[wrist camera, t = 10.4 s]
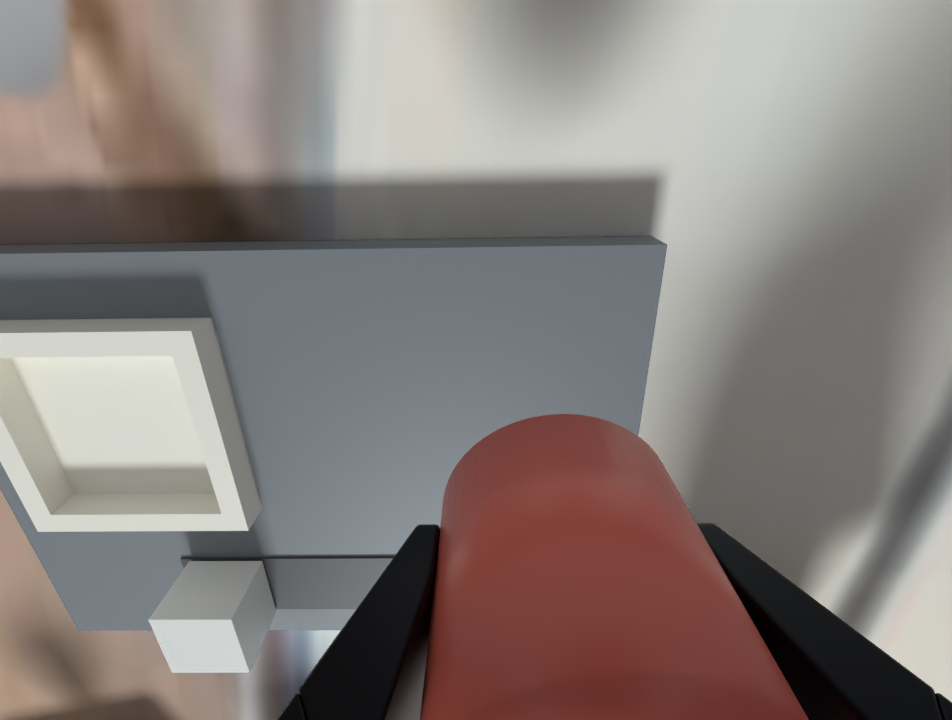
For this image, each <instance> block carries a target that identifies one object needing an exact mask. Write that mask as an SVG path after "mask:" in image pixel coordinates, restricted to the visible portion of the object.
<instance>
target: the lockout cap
mask: <svg viewBox="0 0 952 720" xmlns="http://www.w3.org/2000/svg"><path fill="white" fill-rule="evenodd" d="M420 720H809V719H808V717H807V716H806V714H805V712H804V710H803V709H802V707H801V705H800V703H799V702H798V700H797V698H796V696H795V695H794V693H793V691H792V689H791V688H790V686H789V684H788V682H787V681H786V679H785V677H784V675H783V674H782V672H781V670H780V668H779V667H778V665H777V663H776V661H775V660H774V658H773V656H772V654H771V653H770V651H769V649H768V647H767V646H766V644H765V642H764V640H763V639H762V637H761V635H760V633H759V632H758V630H757V628H756V626H755V625H754V623H753V621H752V619H751V618H750V616H749V614H748V612H747V611H746V609H745V607H744V605H743V604H742V602H741V600H740V598H739V597H738V595H737V593H736V591H735V590H734V588H733V586H732V584H731V583H730V581H729V579H728V577H727V576H726V574H725V572H724V570H723V569H722V567H721V565H720V563H719V562H718V560H717V558H716V556H715V555H714V553H713V551H712V549H711V548H710V546H709V544H708V542H707V541H706V539H705V537H704V535H703V534H702V532H701V530H700V528H699V527H698V525H697V523H696V521H695V520H694V518H693V516H692V514H691V513H690V511H689V509H688V507H687V506H686V504H685V502H684V500H683V499H682V497H681V495H680V493H679V492H678V490H677V488H676V486H675V485H674V483H673V481H672V479H671V478H670V476H669V474H668V472H667V471H666V469H665V467H664V465H663V464H662V462H661V461H660V459H659V458H658V456H657V454H656V453H655V452H654V451H653V450H652V449H651V448H650V446H649V445H648V444H647V443H646V442H644V441H643V440H642V439H641V438H639V437H638V436H637V435H636V434H634V433H632V432H631V431H629V430H627V429H626V428H624V427H622V426H619V425H617V424H615V423H612V422H610V421H606V420H603V419H600V418H596V417H591V416H585V415H578V414H552V415H543V416H537V417H531V418H527V419H524V420H521V421H517V422H514V423H512V424H509V425H507V426H505V427H502V428H500V429H498V430H496V431H495V432H493V433H491V434H489V435H488V436H486V437H485V438H483V439H482V440H481V441H479V442H478V443H477V444H475V445H474V446H473V447H472V448H471V449H470V450H469V451H468V452H467V453H466V454H465V455H464V456H463V457H462V459H461V460H460V461H459V462H458V464H457V465H456V466H455V468H454V470H453V472H452V474H451V475H450V477H449V480H448V482H447V485H446V488H445V492H444V497H443V504H442V514H441V523H440V535H439V544H438V554H437V563H436V573H435V583H434V592H433V600H432V609H431V618H430V628H429V637H428V647H427V656H426V666H425V675H424V685H423V695H422V704H421V714H420Z"/></svg>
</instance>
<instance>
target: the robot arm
mask: <svg viewBox="0 0 952 720" xmlns="http://www.w3.org/2000/svg"><path fill="white" fill-rule="evenodd" d="M697 525H698V527H699V528H700V530H701V532H702V534H703V535H704V537H705V539H706V541H707V542H708V544H709V546H710V548H711V549H712V551H713V553H714V555H715V556H716V558H717V560H718V562H719V563H720V565H721V567H722V569H723V570H724V572H725V574H726V576H727V577H728V579H729V581H730V583H731V584H732V586H733V588H734V590H735V591H736V593H737V595H738V597H739V598H740V600H741V602H742V604H743V605H744V607H745V609H746V611H747V612H748V614H749V616H750V618H751V619H752V621H753V623H754V625H755V626H756V628H757V630H758V632H759V633H760V635H761V637H762V639H763V640H764V642H765V644H766V646H767V647H768V649H769V651H770V653H771V654H772V656H773V658H774V660H775V661H776V663H777V665H778V667H779V668H780V670H781V672H782V674H783V675H784V677H785V679H786V681H787V682H788V684H789V686H790V688H791V689H792V691H793V693H794V695H795V696H796V698H797V700H798V702H799V703H800V705H801V707H802V709H803V710H804V712H805V714H806V716H807V717H808V719H809V720H952V702H951V701H949V700H948V699H947V698H945V697H944V696H943V695H941V694H939V693H936V694H935V692H934V690H933V688H932V687H930V686H929V685H928V684H926V683H925V682H924V681H922V680H921V679H920V678H918V677H917V676H916V675H914V674H913V673H912V672H910V671H909V670H908V669H906V668H905V667H904V666H902V665H901V664H900V663H898V662H897V661H896V660H894V659H893V658H892V657H890V656H889V655H888V654H886V653H885V652H884V651H882V650H881V649H880V648H878V647H877V646H876V645H874V644H873V643H872V642H870V641H869V640H868V639H866V638H865V637H864V636H862V635H861V634H860V633H858V632H857V631H856V630H855V629H853V628H852V627H851V626H849V625H848V624H847V623H845V622H844V621H843V620H841V619H840V618H839V617H837V616H836V615H835V614H833V613H832V612H831V611H829V610H828V609H827V608H825V607H824V606H823V605H821V604H820V603H819V602H817V601H816V600H815V599H813V598H812V597H811V596H809V595H808V594H807V593H805V592H804V591H803V590H801V589H800V588H799V587H797V586H796V585H795V584H793V583H792V582H791V581H789V580H788V579H787V578H785V577H784V576H783V575H781V574H780V573H779V572H777V571H776V570H775V569H773V568H772V567H771V566H769V565H768V564H767V563H765V562H764V561H763V560H761V559H760V558H759V557H757V556H756V555H755V554H753V553H752V552H751V551H749V550H748V549H747V548H745V547H744V546H743V545H741V544H740V543H739V542H737V541H736V540H735V539H734V538H732V537H731V536H730V535H728V534H727V533H726V532H724V531H723V530H722V529H720V528H719V527H718V526H716V525H714V524H712V523H697ZM439 535H440V527H439V526H438V525H436V524H420V525H418V526H416V527H415V529H414V530H413V531H412V533H411V534H410V535H409V537H408V538H407V540H406V541H405V542H404V544H403V545H402V547H401V548H400V549H399V551H398V552H397V553H396V555H395V556H394V558H393V559H392V560H391V562H390V563H389V565H388V566H387V567H386V569H385V570H384V571H383V573H382V574H381V576H380V577H379V578H378V580H377V581H376V583H375V584H374V585H373V587H372V588H371V590H370V591H369V592H368V594H367V595H366V596H365V598H364V599H363V601H362V602H361V603H360V605H359V606H358V608H357V609H356V610H355V612H354V613H353V614H352V616H351V617H350V619H349V620H348V621H347V623H346V624H345V626H344V627H343V628H342V630H341V631H340V633H339V634H338V635H337V637H336V638H335V639H334V641H333V642H332V644H331V645H330V646H329V648H328V649H327V651H326V652H325V653H324V655H323V656H322V657H321V659H320V660H319V662H318V663H317V664H316V666H315V667H314V669H313V670H312V671H311V673H310V674H309V676H308V677H307V678H306V680H305V681H304V682H303V684H302V685H301V687H300V688H299V694H300V695H299V694H298V693H296V694H295V695H294V696H293V697H292V699H291V700H290V701H289V703H288V704H287V706H286V707H285V708H284V710H283V711H282V713H281V714H280V715H279V717H278V718H277V720H420V714H421V704H422V695H423V685H424V675H425V666H426V656H427V647H428V637H429V628H430V618H431V609H432V600H433V592H434V583H435V573H436V563H437V554H438V544H439Z"/></svg>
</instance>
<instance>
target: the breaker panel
mask: <svg viewBox="0 0 952 720" xmlns="http://www.w3.org/2000/svg"><path fill="white" fill-rule="evenodd" d="M666 249H667V244H665V243H663V242H661V241H659V240H657V239H656V238H654V237H652V236H603V237H532V238H461V239H390V240H318V241H247V242H176V243H105V244H34V245H0V489H1V491H2V493H3V495H4V497H5V499H6V500H7V502H8V504H9V506H10V508H11V509H12V511H13V513H14V515H15V517H16V518H17V520H18V522H19V524H20V526H21V528H22V529H23V531H24V533H25V535H26V537H27V538H28V540H29V542H30V544H31V546H32V548H33V549H34V551H35V553H36V555H37V557H38V558H39V560H40V562H41V564H42V566H43V567H44V569H45V571H46V573H47V575H48V577H49V578H50V580H51V582H52V584H53V586H54V587H55V589H56V591H57V593H58V595H59V597H60V598H61V600H62V602H63V604H64V606H65V607H66V609H67V611H68V613H69V615H70V616H71V618H72V620H73V622H74V624H75V626H76V627H77V629H78V630H153V629H152V627H151V625H150V623H149V621H148V619H149V618H150V616H151V615H152V614H153V612H154V611H155V609H156V608H157V606H158V605H159V604H160V602H161V601H162V599H163V598H164V596H165V595H166V594H167V592H168V591H169V589H170V588H171V586H172V585H173V584H174V582H175V581H176V579H177V578H178V576H179V575H180V574H181V572H182V571H183V569H184V568H185V567H186V565H187V564H188V562H189V561H262V562H263V566H264V569H265V573H266V576H267V580H268V583H269V587H270V591H271V594H272V598H273V601H274V605H275V608H276V613H275V616H274V618H273V620H272V622H271V625H270V627H269V629H268V630H342V628H343V627H344V626H345V624H346V623H347V621H348V620H349V619H350V617H351V616H352V614H353V613H354V612H355V610H356V609H357V608H358V606H359V605H360V603H361V602H362V601H363V599H364V598H365V596H366V595H367V594H368V592H369V591H370V590H371V588H372V587H373V585H374V584H375V583H376V581H377V580H378V578H379V577H380V576H381V574H382V573H383V571H384V570H385V569H386V567H387V566H388V565H389V563H390V562H391V560H392V559H393V558H394V556H395V555H396V553H397V552H398V551H399V549H400V548H401V547H402V545H403V544H404V542H405V541H406V540H407V538H408V537H409V535H410V534H411V533H412V531H413V530H414V529H415V527H416V526H418V525H420V524H436V525H438V526H439V527H440V523H441V514H442V504H443V497H444V492H445V488H446V485H447V482H448V480H449V477H450V475H451V474H452V472H453V470H454V468H455V466H456V465H457V464H458V462H459V461H460V460H461V459H462V457H463V456H464V455H465V454H466V453H467V452H468V451H469V450H470V449H471V448H472V447H473V446H474V445H475V444H477V443H478V442H479V441H481V440H482V439H483V438H485V437H486V436H488V435H489V434H491V433H493V432H495V431H496V430H498V429H500V428H502V427H505V426H507V425H509V424H512V423H514V422H517V421H521V420H524V419H527V418H531V417H537V416H543V415H552V414H578V415H585V416H591V417H596V418H600V419H603V420H606V421H610V422H612V423H615V424H617V425H619V426H622V427H624V428H626V429H627V430H629V431H631V432H632V433H634V434H636V435H637V436H638V433H639V426H640V420H641V413H642V407H643V400H644V394H645V387H646V380H647V374H648V367H649V361H650V354H651V348H652V341H653V335H654V328H655V321H656V315H657V308H658V302H659V295H660V289H661V282H662V276H663V269H664V262H665V256H666Z"/></svg>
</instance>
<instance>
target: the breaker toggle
mask: <svg viewBox="0 0 952 720" xmlns="http://www.w3.org/2000/svg"><path fill="white" fill-rule="evenodd" d="M275 613H276V608H275V605H274V601H273V598H272V594H271V591H270V587H269V583H268V580H267V576H266V573H265V569H264V566H263V562H262V561H189V562H188V564H187V565H186V567H185V568H184V569H183V571H182V572H181V574H180V575H179V576H178V578H177V579H176V581H175V582H174V584H173V585H172V586H171V588H170V589H169V591H168V592H167V594H166V595H165V596H164V598H163V599H162V601H161V602H160V604H159V605H158V606H157V608H156V609H155V611H154V612H153V614H152V615H151V616H150V618H149V619H148V621H149V623H150V625H151V627H152V629H153V632H154V634H155V636H156V638H157V640H158V643H159V645H160V647H161V649H162V652H163V654H164V656H165V658H166V660H167V663H168V665H169V667H170V669H171V671H172V673H250V670H251V668H252V666H253V663H254V661H255V659H256V657H257V654H258V652H259V650H260V648H261V645H262V643H263V641H264V638H265V636H266V634H267V632H268V629H269V627H270V625H271V622H272V620H273V618H274V616H275Z"/></svg>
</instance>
